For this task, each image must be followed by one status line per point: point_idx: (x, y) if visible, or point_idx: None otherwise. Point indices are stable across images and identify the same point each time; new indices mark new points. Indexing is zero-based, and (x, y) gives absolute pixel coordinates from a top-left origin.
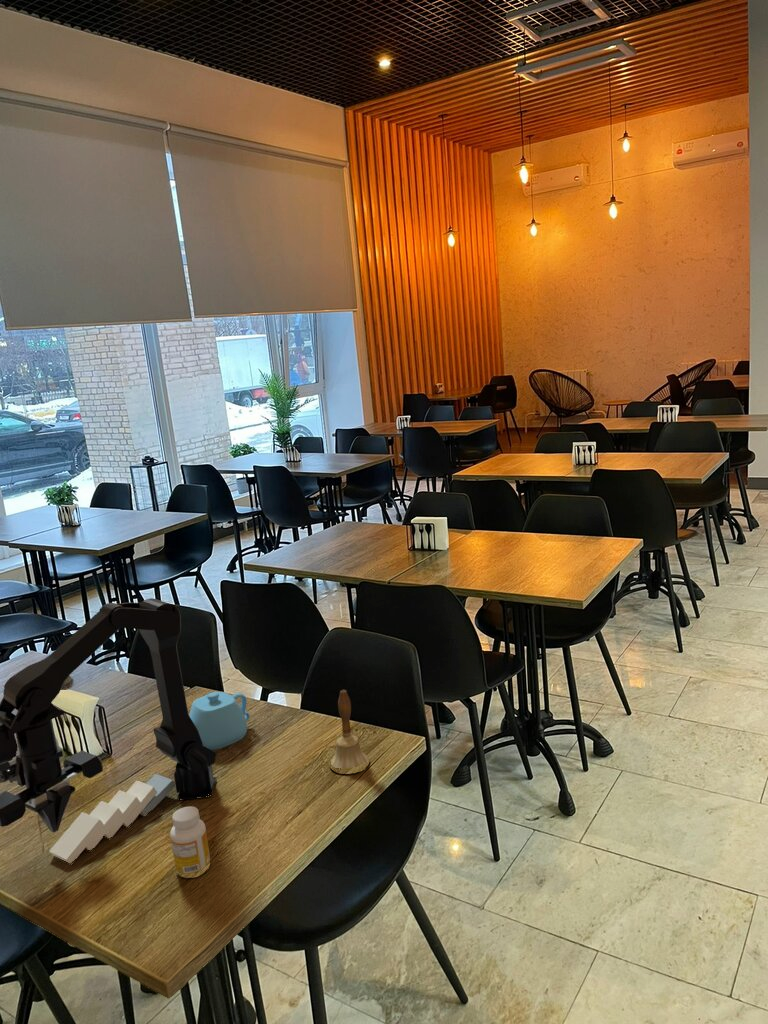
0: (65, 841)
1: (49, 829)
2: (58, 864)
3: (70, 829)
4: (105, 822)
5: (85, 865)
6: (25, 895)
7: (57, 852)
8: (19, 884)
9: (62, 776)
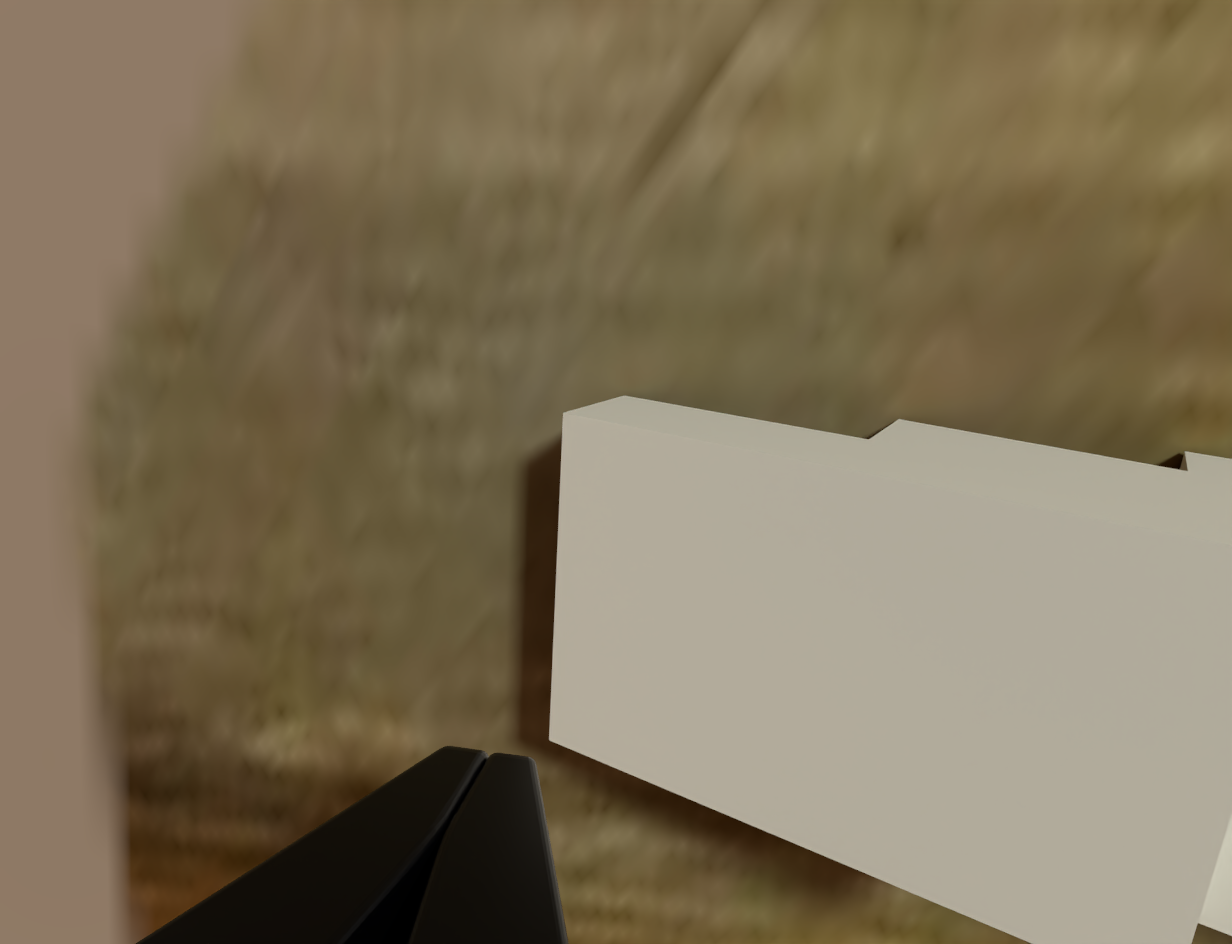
0: (719, 584)
1: (423, 763)
2: None
3: (903, 538)
4: (1214, 913)
5: (665, 819)
6: (133, 629)
7: (579, 562)
8: (175, 438)
9: None
